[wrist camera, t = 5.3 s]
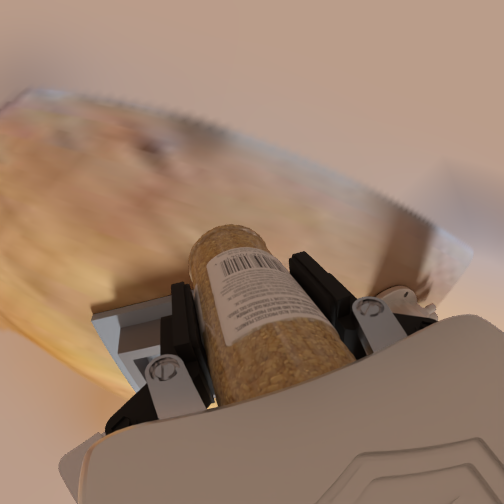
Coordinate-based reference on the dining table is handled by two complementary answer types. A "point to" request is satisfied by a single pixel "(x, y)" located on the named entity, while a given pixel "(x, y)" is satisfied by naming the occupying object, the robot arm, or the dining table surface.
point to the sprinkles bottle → (256, 318)
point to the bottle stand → (133, 336)
